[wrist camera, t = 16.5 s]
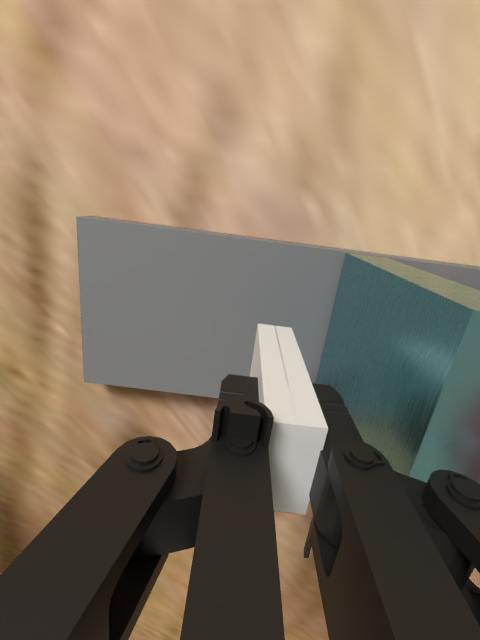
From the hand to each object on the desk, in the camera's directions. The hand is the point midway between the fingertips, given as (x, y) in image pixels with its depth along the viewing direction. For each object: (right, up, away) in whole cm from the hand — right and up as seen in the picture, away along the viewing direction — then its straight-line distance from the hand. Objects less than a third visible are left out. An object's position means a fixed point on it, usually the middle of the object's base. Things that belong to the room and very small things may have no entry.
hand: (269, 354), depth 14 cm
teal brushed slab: (+4, 0, +3) cm, 5 cm away
